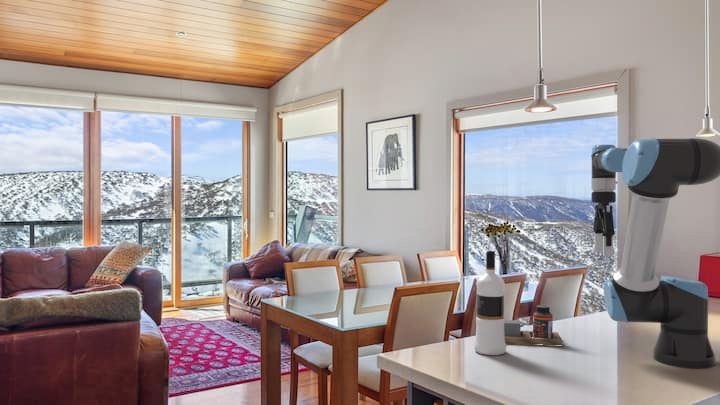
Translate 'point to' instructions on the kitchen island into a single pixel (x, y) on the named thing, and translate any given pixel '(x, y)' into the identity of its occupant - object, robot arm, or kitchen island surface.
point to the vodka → (490, 311)
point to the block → (512, 328)
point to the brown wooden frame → (533, 339)
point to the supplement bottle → (542, 322)
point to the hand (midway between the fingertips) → (603, 254)
